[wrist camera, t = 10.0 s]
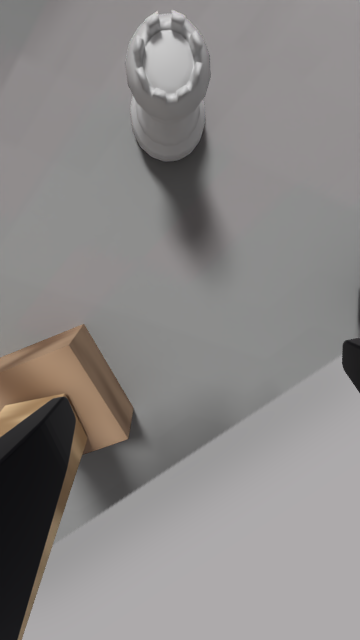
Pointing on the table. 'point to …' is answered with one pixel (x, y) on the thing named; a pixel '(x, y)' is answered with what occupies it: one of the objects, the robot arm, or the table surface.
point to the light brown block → (70, 384)
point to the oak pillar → (14, 416)
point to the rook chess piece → (167, 85)
